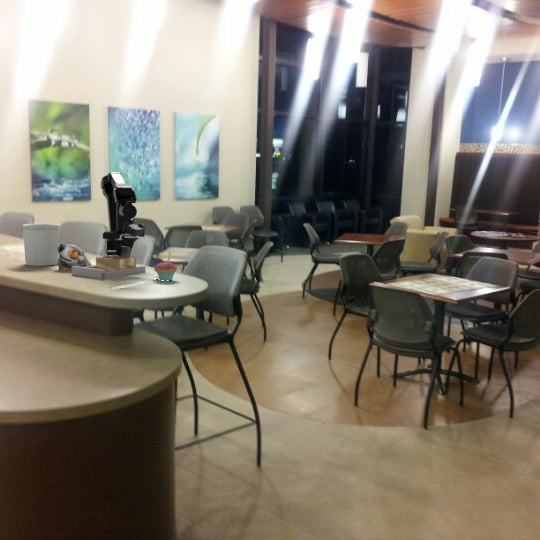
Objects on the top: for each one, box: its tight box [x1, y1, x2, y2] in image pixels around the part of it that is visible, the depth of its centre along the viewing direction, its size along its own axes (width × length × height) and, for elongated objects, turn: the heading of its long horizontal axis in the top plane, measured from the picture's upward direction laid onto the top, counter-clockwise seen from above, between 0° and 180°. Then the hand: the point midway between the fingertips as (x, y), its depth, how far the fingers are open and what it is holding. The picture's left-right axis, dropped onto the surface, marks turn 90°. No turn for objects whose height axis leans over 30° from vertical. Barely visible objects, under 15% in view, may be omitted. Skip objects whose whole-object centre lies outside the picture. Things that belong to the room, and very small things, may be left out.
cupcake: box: [153, 249, 178, 282], centre depth 227 cm, size 9×8×12 cm
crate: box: [95, 246, 137, 272], centre depth 236 cm, size 11×12×10 cm
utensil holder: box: [21, 223, 60, 267], centre depth 258 cm, size 15×15×18 cm
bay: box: [71, 264, 147, 280], centre depth 233 cm, size 23×17×4 cm
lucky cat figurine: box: [57, 243, 92, 271], centre depth 243 cm, size 15×12×14 cm
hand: (124, 255), depth 240 cm, fingers open, 5 cm apart
